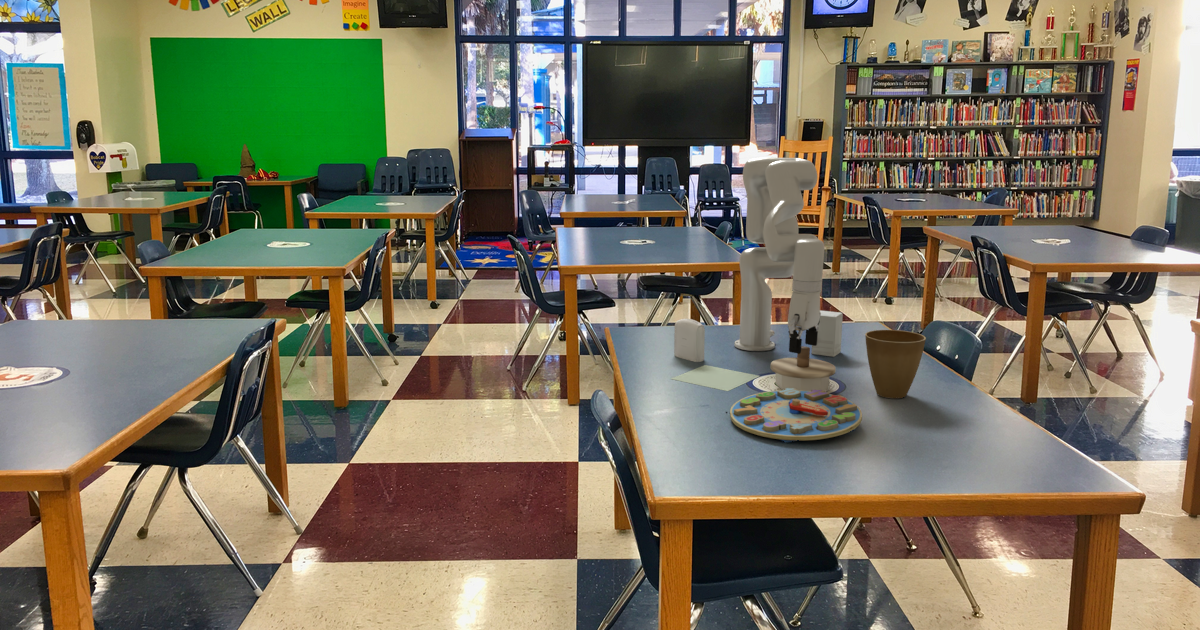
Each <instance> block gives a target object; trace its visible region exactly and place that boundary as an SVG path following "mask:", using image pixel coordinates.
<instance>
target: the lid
mask: <svg viewBox="0 0 1200 630" xmlns="http://www.w3.org/2000/svg"><path fill="white" fill-rule="evenodd" d="M810 353H811V347H809V346H803V345H801V353H800V354H798V353H796V354H797V357H783V358H778V359H774V360H773V361H771V362H770V367H769V368H770V370H771V371H772V372H773V373H775V374H776V373H777V374H780V375H784V376H788V377H794V378H805V379H815V378H825V377H829V376H830V377H832V376H834V375H835V374H836V371H837V370H836V366H835V365H834V364H833V363H831V362H828V361H825V360H821V359H816V358H810ZM830 377H829V378H830Z"/></svg>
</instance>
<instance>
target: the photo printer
mask: <svg viewBox="0 0 1200 630" xmlns="http://www.w3.org/2000/svg"><path fill="white" fill-rule="evenodd" d="M705 331H706V329H705V326H704V325H703V324H702V323H701V322H699V321H697V320H695V319H692V318H681V319H678V320H676V322H675V324H674V334H673V335H674V338H673V339H674V343H673V344H674V348H673V349H674V350H673V353H674V354H673V356H674V357H676V358H679V359H683V360H687V361H691V362H695V363H700V362H704V360H705V340H706V339H705V338H706V337H705V336H706V335H705V334H706V333H705Z"/></svg>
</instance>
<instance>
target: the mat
mask: <svg viewBox="0 0 1200 630" xmlns="http://www.w3.org/2000/svg"><path fill="white" fill-rule="evenodd" d="M759 377H761V375H759V374H752V373H748V372H744V371H743V372H741V371H737V370H733V369H728V368H727V369H726V368H721V367H717V366H712V365H706V364H704V365H701V366H699V367H696V368H695V369H694V368H693V369H691V370H689V371H687V372H685V373H682V374H679V375H677V376H674V377H672V378H670V380H672V381H673V380H674V381H677V382H683V383H688V384H691V385H692V384H693V385H697V386H701V387H704V388H705V387H706V388H710V389H715V390H720V391H724V392H730V391H731V390H734V389H736V388H738V387H741V386H742V385H744V384H746V383H749V382H751V381H753V380H755V379H757V378H759Z"/></svg>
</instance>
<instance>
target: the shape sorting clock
mask: <svg viewBox="0 0 1200 630" xmlns="http://www.w3.org/2000/svg"><path fill="white" fill-rule="evenodd" d="M729 417H730V421H732V423H733V424H734V425H735V426H736V427H738V428H739V429H741V430H743V431H745V432H747V433H750V434H754V435H757V436H759V437H764V438H768V439H776V440H780V441H782V442H783V441H784V442H783V443H786V442H787V443H792V441H793V442H798V441H797V440H799V441H817V440H824V439H829V438H834V437H838V436H842V435H845V434H847V433H851V432H853V431H852V430H854V431H856V429H857V427H859V426H860V424H861V423H862V420H863V413H862V409H861V408H860V407H859V406H858V404H856V403H854V402H853V401H851V400H849V399H848V398H847V397H845V396H843V395H841V394H837V395H835V394H831V393H829V392H827V391H823V390H816V389H814V390H811V391H802V390H797V389H795V388H786V389H784V390H782V389H780V390H771V391H764V392H763V391H762V392H759V393H754V394H751V395H747V396H745V397H743V398H741V399H739V400H737V401H736V402H734V403H733V404H732V405H731V407H730V409H729ZM850 431H851V432H850Z"/></svg>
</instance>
